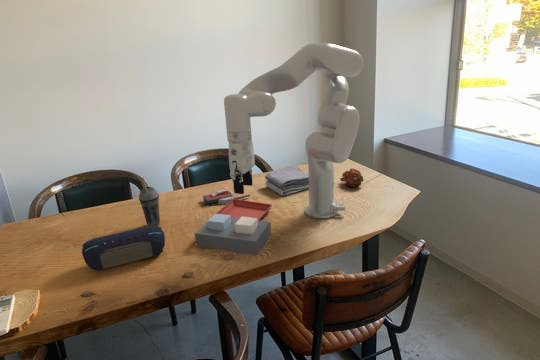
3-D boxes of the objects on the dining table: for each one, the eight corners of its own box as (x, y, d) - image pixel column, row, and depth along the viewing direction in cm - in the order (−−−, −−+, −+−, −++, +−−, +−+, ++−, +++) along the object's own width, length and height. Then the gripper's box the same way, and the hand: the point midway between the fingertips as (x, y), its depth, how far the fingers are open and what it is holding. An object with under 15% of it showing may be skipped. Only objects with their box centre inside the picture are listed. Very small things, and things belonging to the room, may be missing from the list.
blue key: (231, 228, 140) (230, 215, 138) (224, 235, 135) (223, 222, 133) (216, 226, 142) (215, 213, 140) (209, 233, 137) (207, 220, 135)
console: (271, 234, 140) (270, 221, 139) (256, 255, 128) (255, 241, 126) (215, 227, 148) (213, 215, 146) (196, 246, 135) (194, 233, 133)
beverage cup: (167, 222, 153) (159, 173, 146) (155, 231, 147) (146, 180, 140) (152, 219, 156) (144, 171, 149) (139, 228, 150) (130, 178, 143)
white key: (258, 231, 137) (257, 218, 135) (252, 239, 132) (251, 226, 130) (242, 229, 139) (241, 216, 137) (236, 237, 133) (234, 224, 132)
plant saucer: (253, 232, 143) (252, 224, 142) (210, 225, 150) (209, 217, 149) (273, 211, 159) (273, 204, 157) (233, 206, 166) (233, 198, 165)
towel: (264, 187, 183) (263, 171, 180) (297, 178, 191) (296, 163, 189) (282, 198, 170) (281, 181, 168) (316, 188, 179) (316, 171, 176)
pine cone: (359, 193, 174) (343, 189, 184) (371, 179, 175) (354, 175, 186) (349, 180, 170) (333, 176, 181) (361, 166, 172) (344, 163, 182)
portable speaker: (86, 279, 120) (79, 250, 117) (86, 263, 129) (79, 236, 125) (170, 258, 129) (165, 230, 126) (164, 244, 138) (160, 218, 134)
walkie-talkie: (206, 209, 164) (251, 199, 171) (205, 199, 162) (250, 189, 170) (200, 202, 171) (244, 192, 179) (199, 192, 170) (243, 183, 177)
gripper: (239, 143, 114) (243, 200, 120) (260, 129, 129) (263, 180, 136) (215, 142, 117) (221, 198, 123) (239, 128, 132) (243, 179, 138)
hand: (243, 188), depth 129 cm, fingers open, 6 cm apart
